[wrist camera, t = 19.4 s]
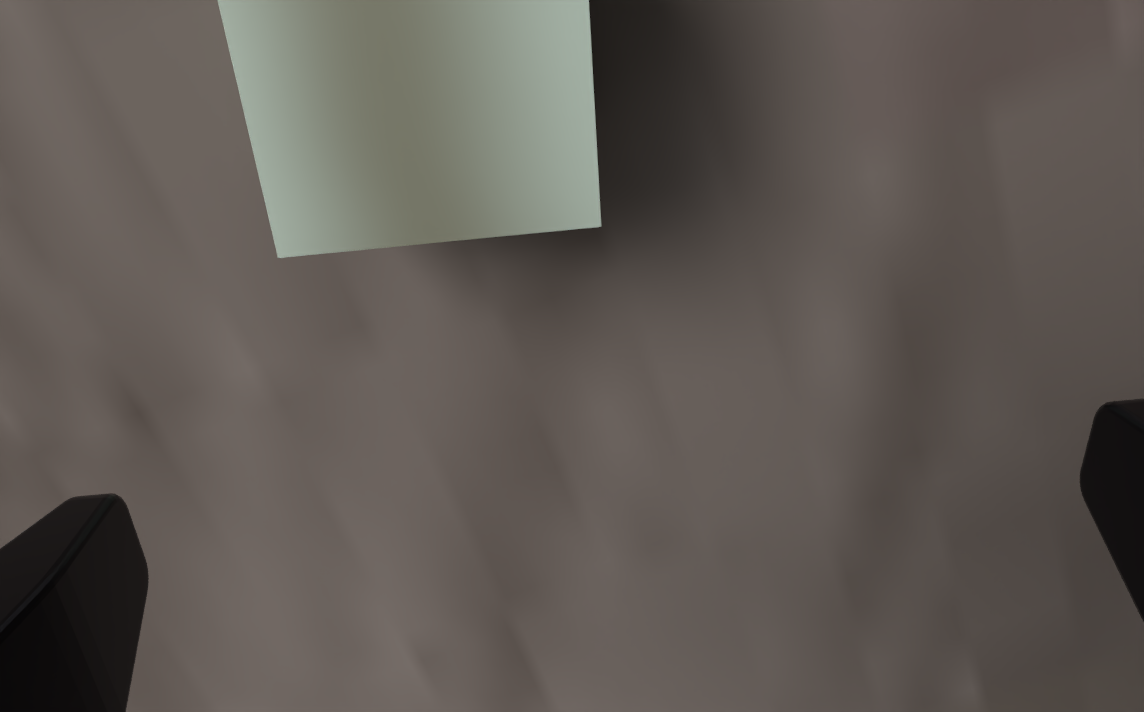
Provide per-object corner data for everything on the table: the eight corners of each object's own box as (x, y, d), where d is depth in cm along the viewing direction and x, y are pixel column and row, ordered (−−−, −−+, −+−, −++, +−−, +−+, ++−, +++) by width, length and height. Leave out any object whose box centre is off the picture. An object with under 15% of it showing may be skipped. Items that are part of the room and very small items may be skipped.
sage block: (554, -155, 18) (581, -127, 13) (572, 126, 20) (601, 226, 16) (262, -132, 17) (195, -95, 13) (319, 150, 20) (277, 257, 16)
